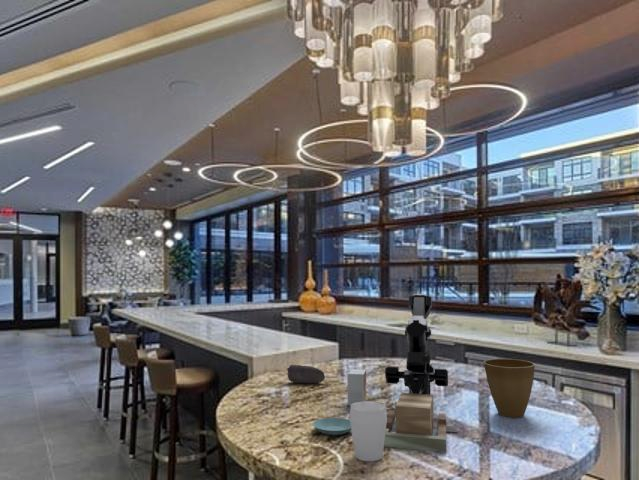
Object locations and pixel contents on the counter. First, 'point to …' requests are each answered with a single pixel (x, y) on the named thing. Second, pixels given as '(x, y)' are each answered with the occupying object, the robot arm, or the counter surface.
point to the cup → (368, 429)
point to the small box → (356, 386)
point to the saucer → (333, 426)
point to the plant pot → (510, 385)
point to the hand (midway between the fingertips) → (415, 401)
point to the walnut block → (414, 414)
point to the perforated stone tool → (305, 374)
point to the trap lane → (418, 436)
